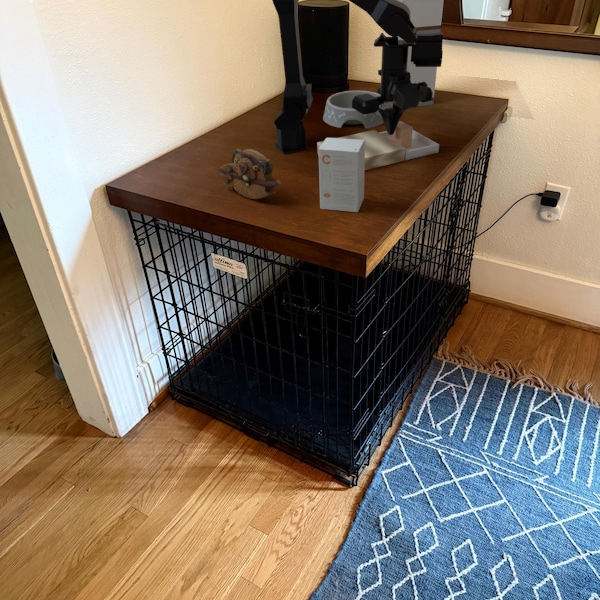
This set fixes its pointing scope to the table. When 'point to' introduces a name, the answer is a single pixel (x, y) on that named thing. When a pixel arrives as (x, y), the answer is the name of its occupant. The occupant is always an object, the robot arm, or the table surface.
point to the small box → (341, 174)
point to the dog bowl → (349, 111)
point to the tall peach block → (402, 135)
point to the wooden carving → (249, 174)
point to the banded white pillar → (426, 20)
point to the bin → (418, 146)
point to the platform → (377, 149)
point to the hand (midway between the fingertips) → (390, 134)
